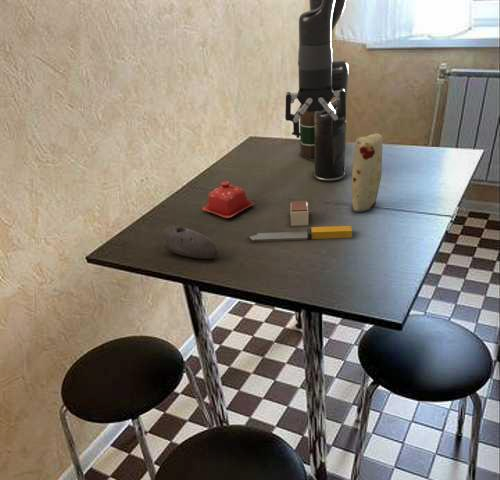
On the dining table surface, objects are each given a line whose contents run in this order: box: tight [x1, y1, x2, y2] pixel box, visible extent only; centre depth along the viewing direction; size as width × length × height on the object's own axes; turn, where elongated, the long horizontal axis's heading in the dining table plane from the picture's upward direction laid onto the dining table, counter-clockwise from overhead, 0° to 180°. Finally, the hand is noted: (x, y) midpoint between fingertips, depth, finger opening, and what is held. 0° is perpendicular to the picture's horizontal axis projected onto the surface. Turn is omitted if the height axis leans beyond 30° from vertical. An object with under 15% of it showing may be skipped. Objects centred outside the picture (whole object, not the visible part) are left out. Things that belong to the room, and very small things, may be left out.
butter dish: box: [202, 180, 255, 219], centre depth 138 cm, size 12×12×8 cm
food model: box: [351, 133, 383, 212], centre depth 129 cm, size 10×7×20 cm
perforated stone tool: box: [161, 224, 219, 260], centre depth 120 cm, size 15×5×7 cm, turn 60°
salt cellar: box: [290, 200, 309, 227], centre depth 131 cm, size 5×6×4 cm
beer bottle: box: [299, 110, 316, 159], centre depth 163 cm, size 8×8×24 cm
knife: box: [249, 225, 353, 243], centre depth 124 cm, size 26×3×2 cm, turn 86°
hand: (315, 135), depth 120 cm, fingers open, 8 cm apart
